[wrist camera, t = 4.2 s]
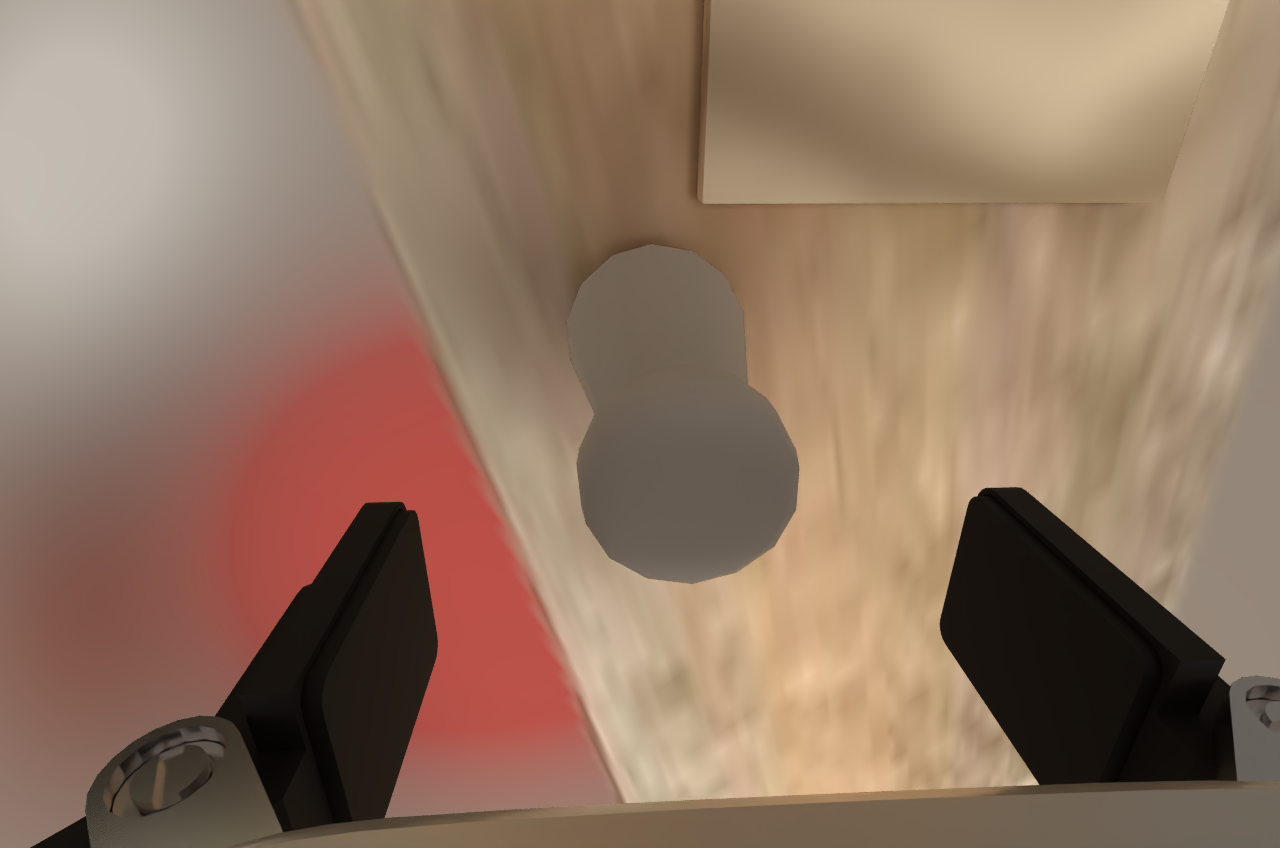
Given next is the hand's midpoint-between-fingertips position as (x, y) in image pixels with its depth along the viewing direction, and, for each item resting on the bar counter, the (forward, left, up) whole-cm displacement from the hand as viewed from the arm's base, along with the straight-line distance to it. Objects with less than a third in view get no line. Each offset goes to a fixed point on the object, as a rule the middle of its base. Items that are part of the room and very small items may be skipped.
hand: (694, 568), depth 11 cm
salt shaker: (-1, 0, -14) cm, 14 cm away
